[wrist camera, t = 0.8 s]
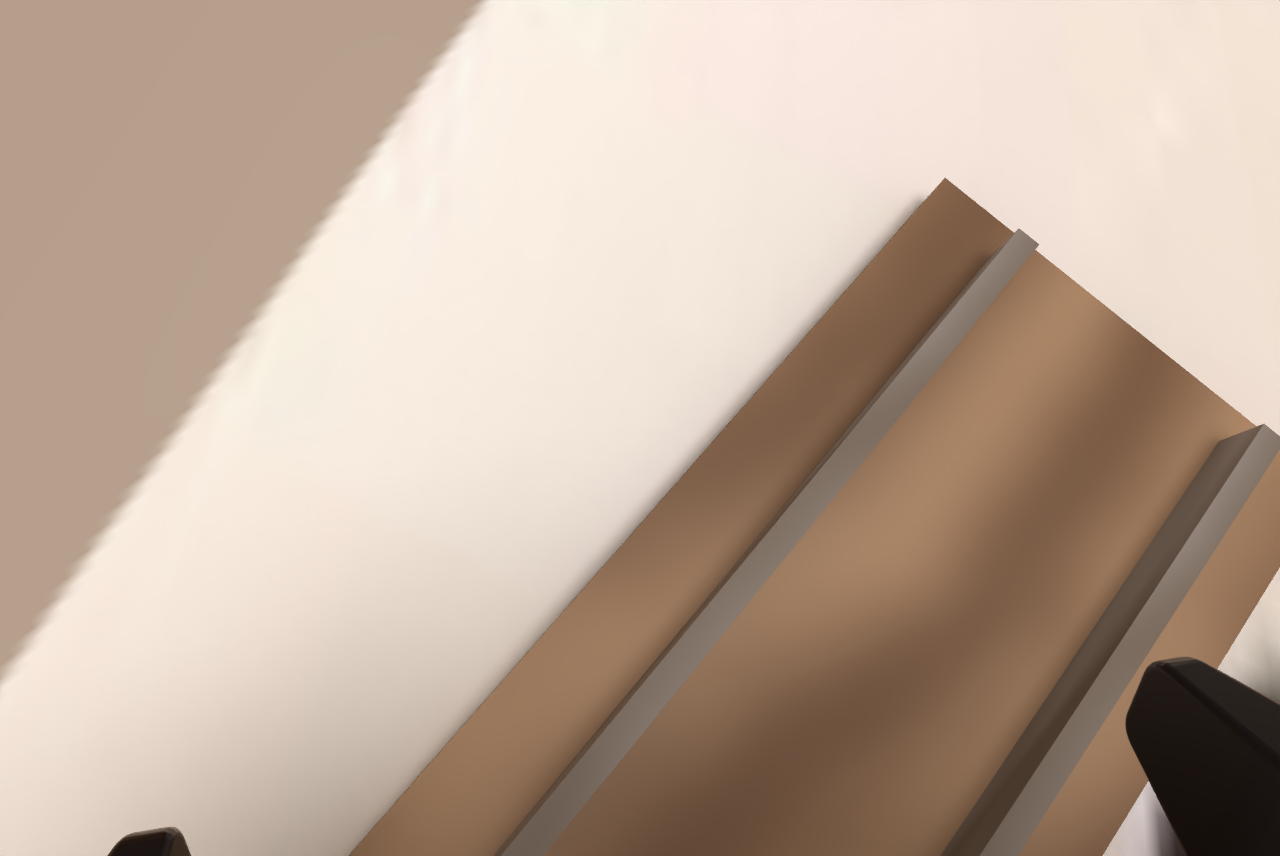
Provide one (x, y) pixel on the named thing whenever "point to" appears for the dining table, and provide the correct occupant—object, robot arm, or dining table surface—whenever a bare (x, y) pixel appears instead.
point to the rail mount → (886, 592)
